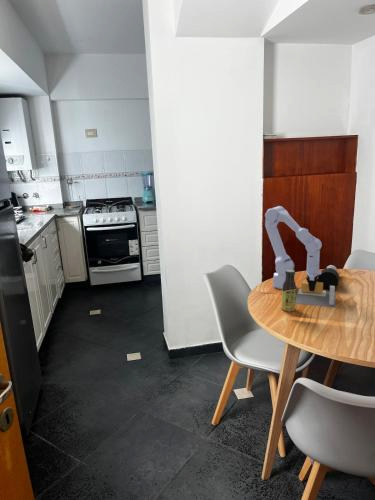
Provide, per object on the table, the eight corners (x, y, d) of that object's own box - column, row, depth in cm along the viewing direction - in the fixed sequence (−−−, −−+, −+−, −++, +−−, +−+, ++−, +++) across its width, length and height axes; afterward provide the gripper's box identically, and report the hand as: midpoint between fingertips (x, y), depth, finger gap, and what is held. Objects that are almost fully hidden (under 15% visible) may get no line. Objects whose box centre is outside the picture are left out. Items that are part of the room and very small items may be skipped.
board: (294, 306, 173) (294, 303, 173) (298, 291, 191) (298, 288, 191) (335, 310, 167) (335, 307, 166) (335, 294, 185) (335, 291, 184)
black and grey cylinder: (335, 280, 217) (344, 265, 214) (331, 295, 187) (342, 278, 183) (319, 271, 220) (328, 257, 217) (313, 284, 190) (323, 268, 186)
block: (301, 291, 184) (301, 283, 183) (301, 288, 188) (302, 281, 187) (322, 292, 181) (322, 285, 180) (322, 290, 184) (323, 282, 183)
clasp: (329, 304, 169) (330, 290, 167) (329, 297, 177) (330, 283, 175) (333, 305, 168) (334, 290, 166) (333, 298, 176) (334, 283, 174)
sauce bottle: (285, 315, 164) (286, 273, 159) (278, 310, 170) (279, 269, 165) (298, 313, 166) (299, 271, 160) (291, 308, 171) (292, 267, 166)
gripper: (321, 268, 173) (319, 295, 176) (322, 259, 186) (320, 285, 189) (305, 267, 175) (304, 294, 179) (307, 259, 188) (306, 283, 192)
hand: (312, 289), depth 184 cm, fingers closed on block, 4 cm apart
